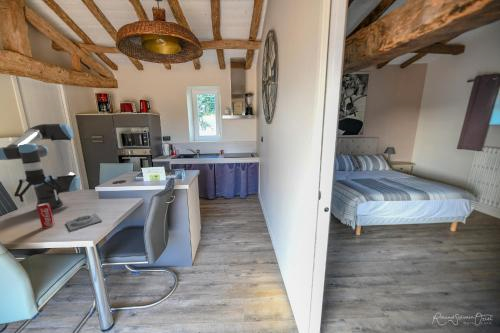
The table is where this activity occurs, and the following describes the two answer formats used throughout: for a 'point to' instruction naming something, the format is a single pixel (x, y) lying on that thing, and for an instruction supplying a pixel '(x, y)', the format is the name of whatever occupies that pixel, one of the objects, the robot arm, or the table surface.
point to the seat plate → (75, 227)
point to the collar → (78, 222)
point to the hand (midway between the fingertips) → (42, 202)
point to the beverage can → (45, 215)
